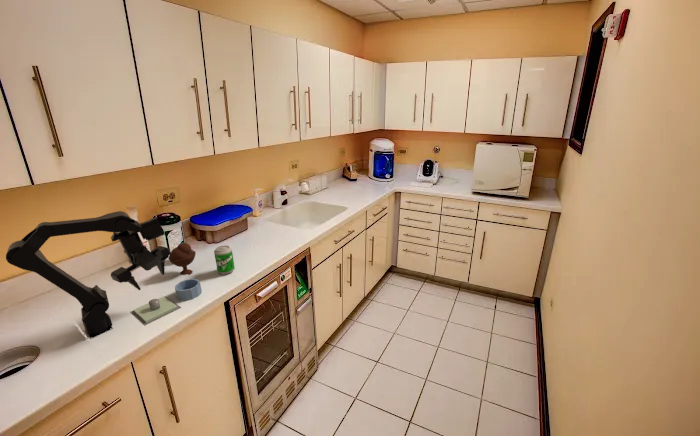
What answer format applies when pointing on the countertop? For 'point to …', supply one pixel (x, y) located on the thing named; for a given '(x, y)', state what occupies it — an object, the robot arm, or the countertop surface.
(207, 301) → the countertop surface
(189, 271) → the ice cream bowl
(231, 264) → the soda can
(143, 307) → the cover
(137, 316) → the rubber mat
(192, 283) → the bowl
